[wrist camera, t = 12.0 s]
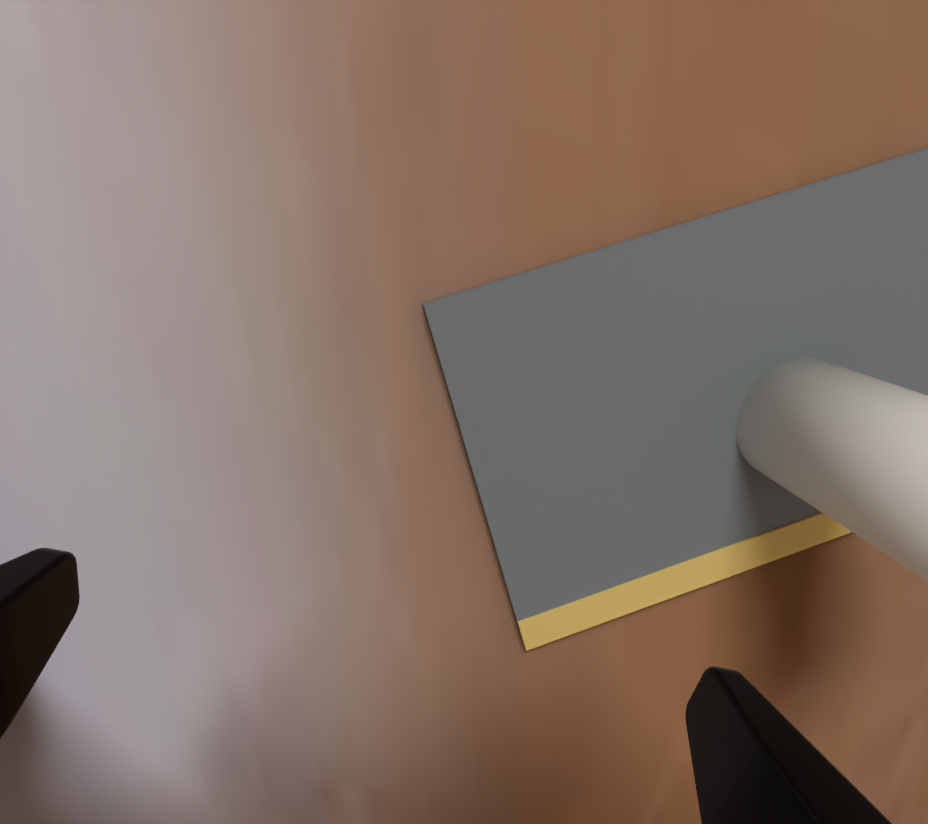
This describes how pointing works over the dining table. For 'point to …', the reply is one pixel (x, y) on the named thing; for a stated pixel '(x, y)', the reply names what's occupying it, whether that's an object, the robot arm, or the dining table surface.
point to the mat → (673, 388)
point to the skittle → (845, 451)
